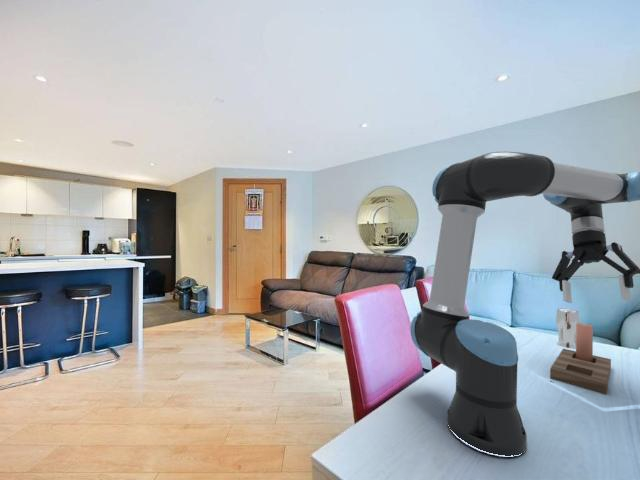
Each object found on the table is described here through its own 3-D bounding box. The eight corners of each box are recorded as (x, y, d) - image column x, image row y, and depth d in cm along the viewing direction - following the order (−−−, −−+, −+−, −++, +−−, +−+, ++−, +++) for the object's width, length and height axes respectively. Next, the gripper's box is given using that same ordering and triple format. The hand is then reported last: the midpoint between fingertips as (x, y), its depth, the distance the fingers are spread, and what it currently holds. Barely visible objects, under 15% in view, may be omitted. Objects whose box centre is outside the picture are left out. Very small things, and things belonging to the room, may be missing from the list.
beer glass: (555, 343, 118) (555, 307, 118) (577, 347, 114) (577, 310, 114) (556, 348, 112) (557, 310, 112) (580, 352, 108) (580, 313, 108)
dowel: (585, 370, 91) (585, 326, 91) (572, 364, 95) (573, 323, 95) (595, 369, 92) (596, 326, 92) (582, 364, 96) (582, 322, 96)
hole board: (606, 398, 77) (606, 383, 77) (550, 381, 86) (550, 368, 86) (610, 371, 93) (610, 359, 93) (563, 359, 102) (563, 348, 102)
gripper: (651, 227, 78) (665, 302, 71) (552, 246, 101) (555, 305, 94) (635, 217, 76) (648, 294, 69) (537, 239, 99) (539, 299, 92)
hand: (594, 300), depth 82 cm, fingers open, 13 cm apart
